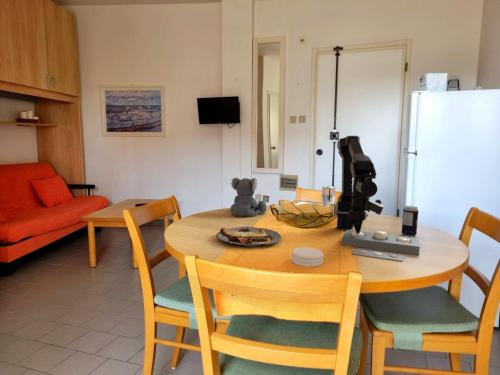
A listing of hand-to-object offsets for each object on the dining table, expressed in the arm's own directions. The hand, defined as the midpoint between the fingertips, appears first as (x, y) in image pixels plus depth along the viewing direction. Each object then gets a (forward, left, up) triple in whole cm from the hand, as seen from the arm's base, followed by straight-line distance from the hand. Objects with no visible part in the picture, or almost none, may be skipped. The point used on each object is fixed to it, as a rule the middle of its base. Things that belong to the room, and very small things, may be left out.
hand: (358, 233), depth 132 cm
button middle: (+8, 0, -2) cm, 8 cm away
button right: (+16, 0, -3) cm, 16 cm away
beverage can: (+18, +20, -4) cm, 27 cm away
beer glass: (-20, +42, -4) cm, 47 cm away
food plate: (-39, -15, -4) cm, 42 cm away
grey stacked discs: (-12, -29, -4) cm, 32 cm away
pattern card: (+8, -12, -4) cm, 15 cm away
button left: (0, 0, -3) cm, 3 cm away
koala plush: (-59, +26, -4) cm, 65 cm away
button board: (+8, 0, -4) cm, 9 cm away
